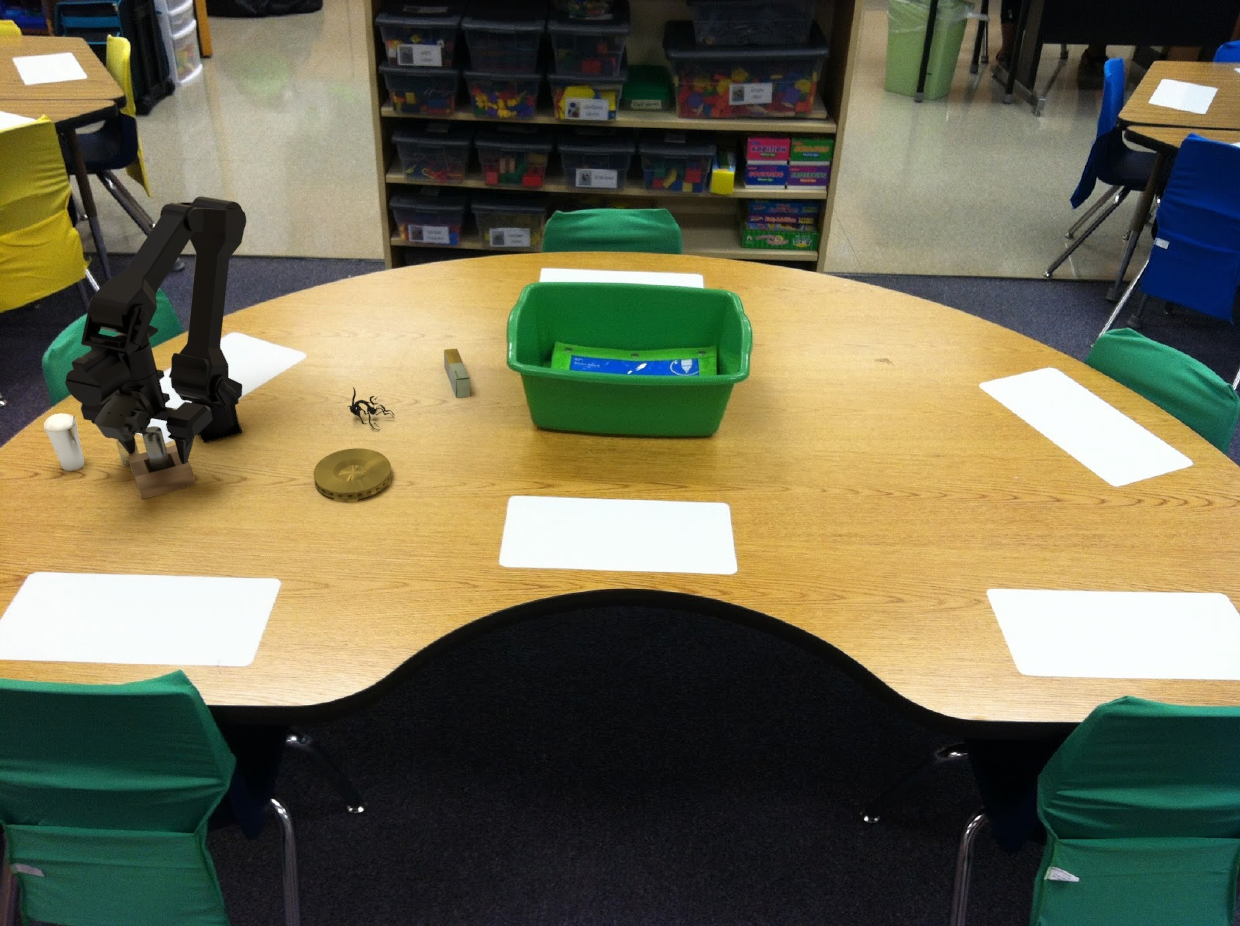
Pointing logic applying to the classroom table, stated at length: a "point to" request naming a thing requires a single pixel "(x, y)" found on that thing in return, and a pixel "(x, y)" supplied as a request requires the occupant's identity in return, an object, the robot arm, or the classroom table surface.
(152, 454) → the long pin
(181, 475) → the collar
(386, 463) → the compass
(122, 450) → the short pin
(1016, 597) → the classroom table surface
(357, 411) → the creature
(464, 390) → the medication box
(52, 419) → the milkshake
